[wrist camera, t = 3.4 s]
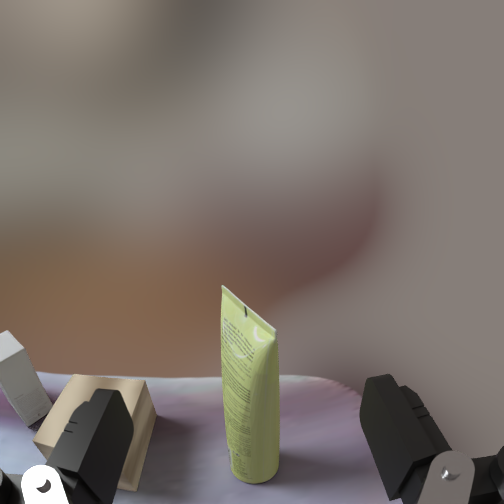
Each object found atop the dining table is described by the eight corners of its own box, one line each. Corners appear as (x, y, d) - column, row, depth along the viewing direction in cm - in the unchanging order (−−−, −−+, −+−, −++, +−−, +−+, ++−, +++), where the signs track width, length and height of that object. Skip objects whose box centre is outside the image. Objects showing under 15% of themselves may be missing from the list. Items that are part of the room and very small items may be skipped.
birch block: (57, 473, 22) (32, 440, 20) (89, 407, 33) (73, 373, 32) (136, 491, 22) (115, 461, 20) (156, 414, 34) (145, 380, 32)
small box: (55, 409, 32) (25, 347, 29) (27, 428, 27) (-8, 366, 24) (33, 386, 36) (8, 328, 32) (8, 401, 31) (-22, 343, 28)
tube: (290, 455, 27) (296, 291, 21) (276, 491, 23) (276, 329, 17) (240, 444, 29) (222, 284, 23) (222, 477, 25) (188, 315, 19)
